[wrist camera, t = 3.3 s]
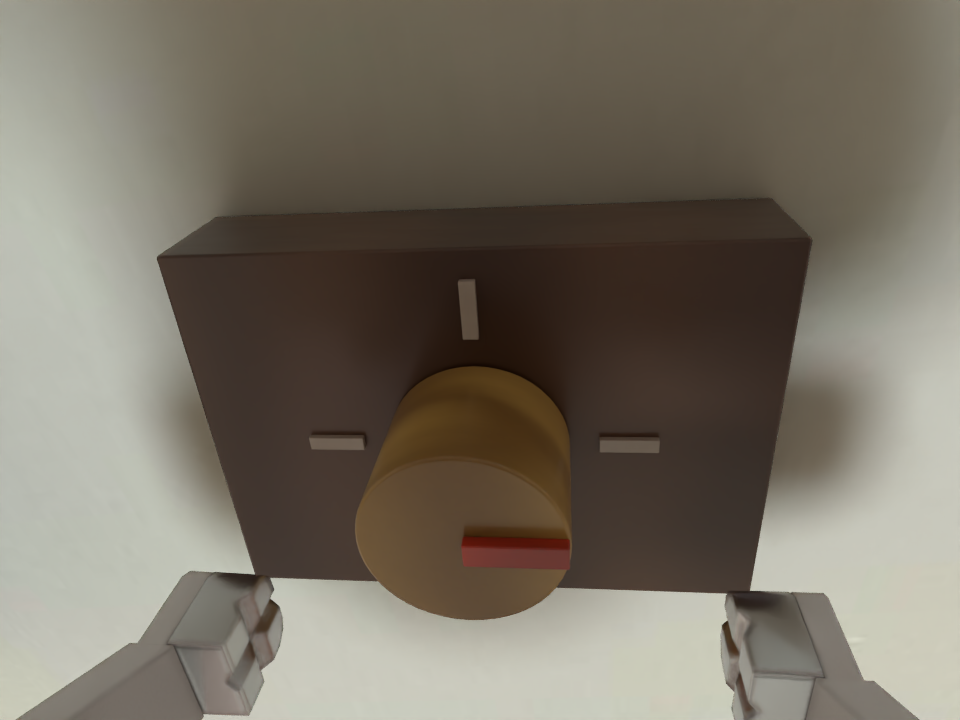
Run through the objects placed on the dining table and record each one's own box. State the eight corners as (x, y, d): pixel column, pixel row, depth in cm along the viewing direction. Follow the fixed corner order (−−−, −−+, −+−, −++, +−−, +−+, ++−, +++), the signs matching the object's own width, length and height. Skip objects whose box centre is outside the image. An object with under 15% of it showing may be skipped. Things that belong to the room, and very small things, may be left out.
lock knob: (403, 509, 18) (366, 629, 15) (380, 365, 16) (332, 465, 12) (570, 513, 17) (572, 638, 14) (569, 364, 15) (572, 469, 12)
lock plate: (290, 509, 22) (253, 582, 20) (214, 216, 18) (150, 258, 15) (726, 519, 21) (751, 600, 18) (772, 197, 16) (817, 241, 13)
